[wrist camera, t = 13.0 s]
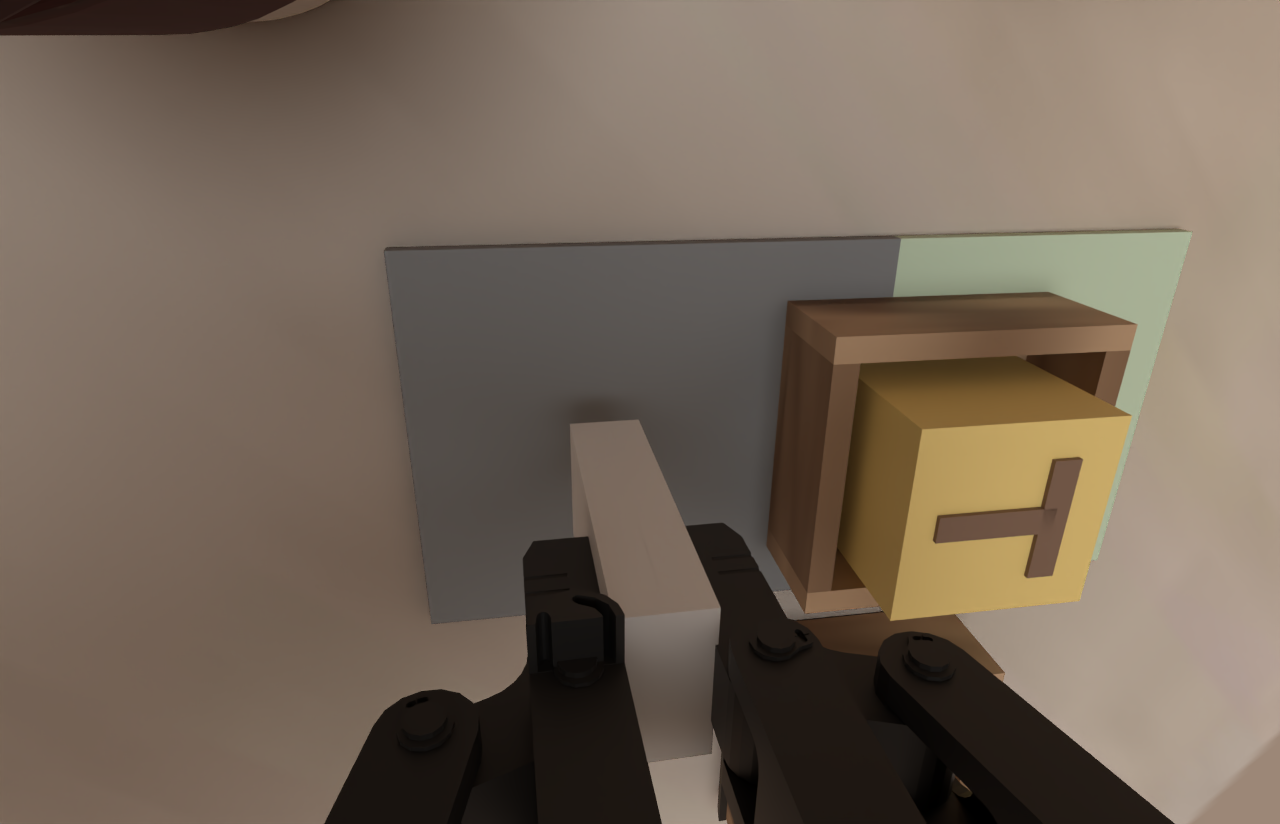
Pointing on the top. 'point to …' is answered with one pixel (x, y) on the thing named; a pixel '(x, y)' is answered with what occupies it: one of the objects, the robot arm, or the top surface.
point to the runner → (674, 368)
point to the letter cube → (975, 485)
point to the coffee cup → (139, 15)
